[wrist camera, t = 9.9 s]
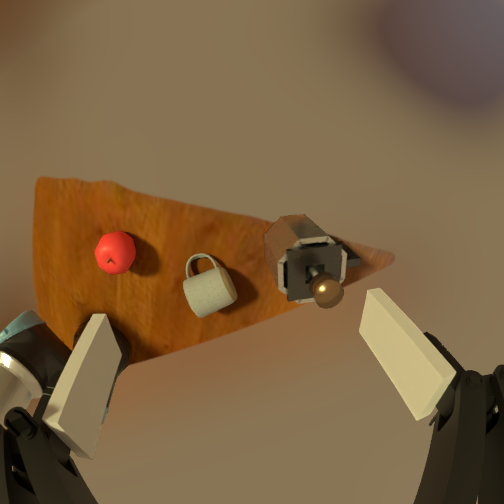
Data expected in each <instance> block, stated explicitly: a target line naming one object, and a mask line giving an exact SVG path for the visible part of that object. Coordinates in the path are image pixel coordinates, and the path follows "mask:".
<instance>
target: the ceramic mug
mask: <svg viewBox="0 0 504 504" xmlns="http://www.w3.org/2000/svg"><path fill="white" fill-rule="evenodd" d="M204 257H208V258H209V259H210V260H211V261H212V262H213V264H214V266H215V268H214V269H211V270H208V271H206V272H204V273H201V274H198V275H196V276H193V277H191V276H190V273H189V265H190V263H191V261H192V260H194V259H197V258H204ZM186 275H187V279H186V280H184V283H183V287H184V292H185V295H186V298H187V300H188V303H189V305H190V307H191V308H192V310H193V311H194V313H195V314H196V315H197V316H198V317H200V318H203V317H205V316H207V315H209V314H211V313H213V312H215V311H218V310H219V309H222V308H224V307H226V306H228V305H230V304H232V303H233V302H234V301H236V299H237V292H236V289H235V287H234V284H233V282H232V280H231V278H230V276H229V274H228V272H227V271H226V269H225V268H223V267H218V265H217V263H216V261H215V260H214V259H213V258H212V257H211V256H210V255H208V254H204V253H200V254H196V255H193V256H192V257H190V259H189V260H188V262H187V265H186Z"/></svg>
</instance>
